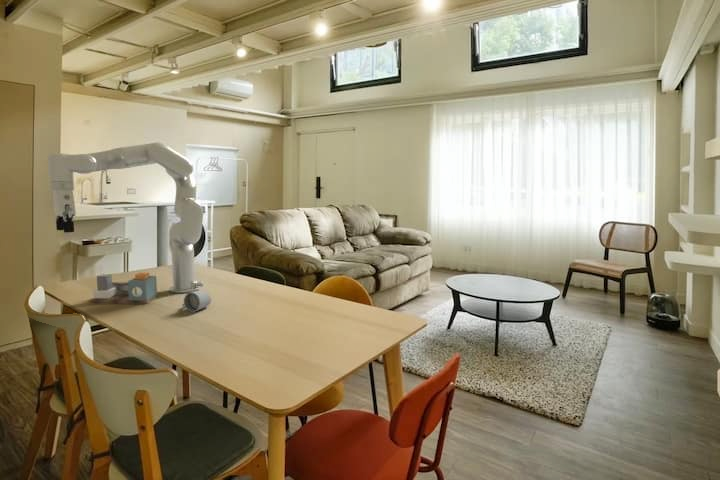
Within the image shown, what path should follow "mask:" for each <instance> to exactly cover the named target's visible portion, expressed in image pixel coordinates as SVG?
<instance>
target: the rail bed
mask: <svg viewBox="0 0 720 480" xmlns="http://www.w3.org/2000/svg"><path fill="white" fill-rule="evenodd" d="M112 285H113V287H117V294H116V295H114V296H112V297H110V298H90V299H88V302H89V303H88V304H90V305H91V304H92V305H93V304H94V305H98V304H101V305H107V304H109V305H115V304H116V305H117V304H118V305H127V304H129V305H130V304H131V305H133V304H134V305H137V304H138V305H142V304H144V305H145V304H146V305H147V304H148V303H150V302H153V300H155V299H157V298H158V293H157V294H156V295H154V296H153V297H151V298H149V299H148V300H129V289H128V281H120V282H119V281H118V282H117V281H115V282H114V281H112Z"/></svg>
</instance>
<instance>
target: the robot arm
mask: <svg viewBox="0 0 720 480" xmlns="http://www.w3.org/2000/svg"><path fill="white" fill-rule="evenodd" d="M47 161H48V162H47V163H48V166H47V167H48V178H49V190H50V191H52V193H53V194H52V196H53V211H54V215H55V225H56V226H55V227H56V231H63V233H64V234H65V233H74V232H75V224H74V223H75V222H74V217H76V215H77V213H76V204H75V197H74V196H75V195H74V193H73V192H74V191H75V183H74V173H77V174H81V175H83V174H91V173H95V172H102V171H109V170H124V169H130V168H135V167H142V166H147V165H154V164H158V165H159V166H161V167H163V168H164V169H165V172H166V173H167V174H168V176H169V177H171V178H172V180H174V182H175V196H174V197H175V199H174V206H173V207H174V208H173V212H174V214H175V216H176V217H177V218H179V219H180V221H177V222H175V223H173V224H172V225H171V226H170V229H169V241H170V248H171V262H172V263H171V264H172V265H171V266H172V267H171V269H172V286H171V287H170V288H169V292H170V293H176V294H183V293H184V294H185V293H186V294H188V293H190V292H194V291H198V290H199V289H200V288H201V287H205V283H204V281H198V279H197V278H196V274H195V273H196V271H195V248H194V245H196V243H198V242H199V240H200V239H201V236H202V230H203V222H204V221H203V219H204V209H203V205H202V203H201V202H200V201H198V200H197V183H196V179H195V177H194V174H193V172H194V165H193V164H192V162H191V160H189V159H188V158H187V157H186V156H184V155H182V154H180V153H179V152H178V151H176V150H174V149H172V148H171V147H169V146H167V145H165V144H163V143H161V142H150V143H143V144H136V145H129V146H122V147H121V146H120V147H115V148H112V149H109V150H103V151H98V152H91V153H78V154H69V153H58V152H57V153H55V152H54V153H49V154H48V156H47Z"/></svg>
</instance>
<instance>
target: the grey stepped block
mask: <svg viewBox="0 0 720 480" xmlns="http://www.w3.org/2000/svg"><path fill="white" fill-rule="evenodd" d="M112 282H113V274H111V273H106V274H105V273H102V274H99V275H97V276H96V285H97V287H96V288H97V289H95V290H93V291H92V295H93V298H110V297H112V296H114V295H116V294H117V287H113V285H112Z"/></svg>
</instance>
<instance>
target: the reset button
mask: <svg viewBox="0 0 720 480" xmlns="http://www.w3.org/2000/svg"><path fill="white" fill-rule="evenodd" d="M149 276H150V272H138V273H136V274H134V278H135V280H146V279H148V278H149Z"/></svg>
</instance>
